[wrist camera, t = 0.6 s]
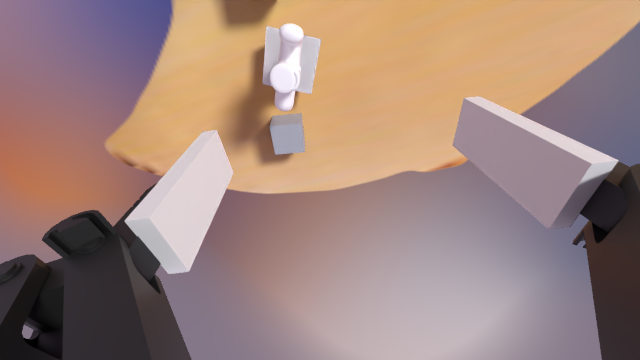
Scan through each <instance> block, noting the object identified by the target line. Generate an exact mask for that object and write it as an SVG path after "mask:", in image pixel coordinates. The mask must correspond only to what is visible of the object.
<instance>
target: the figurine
mask: <svg viewBox="0 0 640 360" xmlns="http://www.w3.org/2000/svg"><path fill="white" fill-rule="evenodd" d="M320 43H321V39H318V38H314V37H310V36H306V35H304V34H303V30H302V29H301V28H300V27H299V26H297V25H295V24H290V23H289V24H284V25H282V26H281V28H280V29H277V28H273V27H268V26H266V40H265V55H264V69H263V84H264V85H269V86H272V87H273V88H274V89H275V90H276V93H275V106H276V107H277V109H279V110H281V111H289V110H291V109H292V107H293V105H294V96H295V91H299V92H304V93H309V94H311V92H312V87H313V81H314V76H315V70H316V65H317V59H318V54H319V49H320Z"/></svg>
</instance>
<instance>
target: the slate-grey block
mask: <svg viewBox="0 0 640 360" xmlns="http://www.w3.org/2000/svg"><path fill="white" fill-rule="evenodd" d="M269 127H270V132H271V137H272V142H273V146H274V151H275V155H277V154H288V153H299V152H305V137H304V129H303V121H302V113H298V114H287V115H276V116H273V117H272V120H271V123H270V126H269Z"/></svg>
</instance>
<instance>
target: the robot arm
mask: <svg viewBox="0 0 640 360" xmlns="http://www.w3.org/2000/svg"><path fill="white" fill-rule="evenodd" d="M453 146H454V147H455V148H456V149H457V150H458V151H460V152H461V153H462V154H463V155H464V156H465V157H466V158H468V159H469V160H470V161H471V162H472V163H473V164H475V165H476V166H477V167H478V168H479V169H480V170H481V171H482V172H484V173H485V174H486V175H487V176H488V177H489V178H491V179H492V180H493V181H494V182H495V183H496V184H497V185H499V186H500V187H501V188H502V189H503V190H505V192H507V193H508V194H509V195H510V196H511V197H512V198H513V199H515V200H516V201H517V202H518V203H519V204H520V205H521V206H523V207H524V208H525V209H526V210H527V211H529V212H530V213H531V214H532V215H533V216H534V217H535V218H536V219H538V220H539V221H540V222H541V223H542V224H543V225H545V226H546V227H547V228H548V229H556V228H565V227H571V225H572V224H573V223H574V221H575V220H576V219H577V217H578V216H579V214H581V215H583V216H584V217H586V218H587V219H588V220H589V221H588V223H587V224H586V225H585V226H584V228H583V229H582V230H581V232H580V233H579V234H578V236H577V237H576V238H575V239H574V241H573V244H574V245H577V244H578V243H579V242H580V241H583V240H585V242H586V244H585V245H584V246H583V248H586V249H587V256H588V262H589V270H590V277H591V285H592V292H593V299H594V306H595V313H596V320H597V327H598V335H599V342H600V349H601V355H602V360H640V164H636V165H633V166H631V167H629V166H627V165H625V164H622V163H620V162H618V160H616V159H614V158H612V157H610V156H608V155H605V154H603V153H601V152H599V151H597V150H594V149H592V148H590V147H588V146H586V145H583V144H581V143H579V142H577V141H575V140H573V139H571V138H568V137H566V136H564V135H562V134H559V133H558V132H555V131H553V130H551V129H549V128H546V127H544V126H542V125H540V124H538V123H536V122H534V121H531V120H529V119H527V118H525V117H523V116H521V115H518V114H516V113H514V112H512V111H510V110H508V109H505V108H503V107H501V106H499V105H497V104H495V103H492V102H490V101H488V100H486V99H484V98H481V97H479V96H477V97H469V98H464V100H463V104H462V108H461V113H460V117H459V121H458V125H457V129H456V133H455V137H454V142H453ZM232 175H233V170H232V168H231V165H230V163H229V160H228V158H227V155H226V153H225V150H224V147H223V145H222V142H221V140H220V137H219V135H218V132H217V130H213V131H205V132H202V133H201V134H200V135H199V136H198V138H197V139H196V140H195V141H194V142H193V143H192V144H191V146H190V147H189V148H188V149H187V150H186V151H185V152H184V154H183V155H182V156H181V157H180V158H179V159H178V160H177V162H176V163H175V164H174V165H173V166H172V167H171V168H170V169H169V171H168V172H167V173H166V174H165V175H164V176H163V177H162V179H161V180H160V181H159V182H157V183H156V184H154V185H153V186H152V187H150V188H149V189H147V190H146V191H145V192H144V194H143V195H142V196H141V197H140V200H137V201H136V203H134V205H133V207H131V208H130V209H129V210H128V211H127V212H126V213H125V215H124V216H123V217H122V218H121V219H120V220H119V221H118V222H117V223H116V225H115V226H114V227H112V225H111V224H110V223H109V222H108V221H107V220H106V219H105V218H104V217H103V216H102V214H101V213H100V212H99V211H96V210H90V211H84V212H81V213H78V214H75V215H73V216H71V217H69V218H67V219H65V220H63V221H61V222H60V223H58V224H56V225H55V226H53V227H52V228H51V229H50V230H49V231H48V232H47V233H46V234H45V235H44V237H43V239H42V241H44V242H45V243H46V244H47V245H48V246H50V247H51V248H52V249H53V250H54V251H56V252H57V253H58V254H59V255H60V256H62V257H63V258H61V259H58V260H55V261H52V262H49V263H46V264H45V263H44V262H43V261H42V260H40V259H39V258H38V257H36V256H35V255H24V256H20V257H17V258H15V259H12V260H10V261H6V262H4V263H2V264H0V360H191V357H190V355H189V352H188V350H187V347H186V345H185V342H184V340H183V337H182V334H181V332H180V329H179V327H178V324H177V322H176V319H175V317H174V314H173V312H172V309H171V306H170V304H169V302H168V299H167V296H166V294H165V291H164V289H163V286H162V284H161V281H160V279H159V278H158V277H157V276H156V275H155V273H156V271H157V269H158V268H159V266H160V264H161V265H162V267H163V268H164V269H165V270H166V271H167V273H168V274H172V273H181V272H189V270H190V268H191V266H192V263H193V261H194V259H195V257H196V254H197V253H198V250H199V248H200V246H201V244H202V241H203V239H204V237H205V235H206V233H207V230H208V228H209V226H210V224H211V222H212V219H213V217H214V215H215V213H216V210H217V208H218V206H219V204H220V201H221V199H222V197H223V195H224V193H225V190H226V188H227V186H228V184H229V182H230V179H231V177H232ZM23 325H26V326H28V327H30V328H32V329H33V330H34V331H33V333H32V336H31V337H30V339H25V338H23V335H22V329H23Z"/></svg>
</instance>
